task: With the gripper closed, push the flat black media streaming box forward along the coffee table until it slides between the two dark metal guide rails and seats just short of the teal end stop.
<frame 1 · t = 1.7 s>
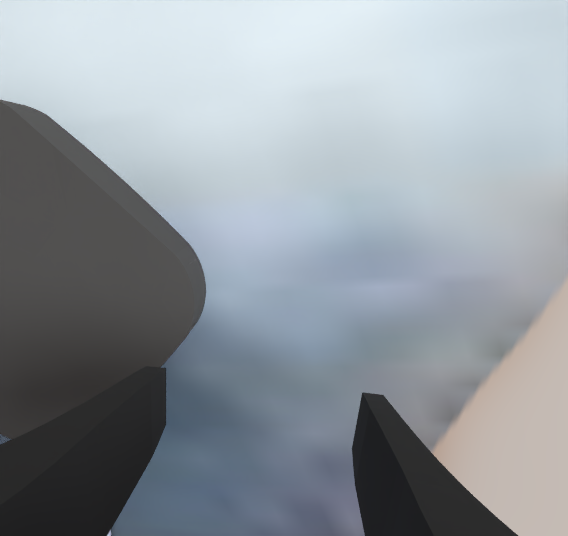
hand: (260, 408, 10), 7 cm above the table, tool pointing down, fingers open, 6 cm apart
media streaming box: (50, 280, 18), on the table
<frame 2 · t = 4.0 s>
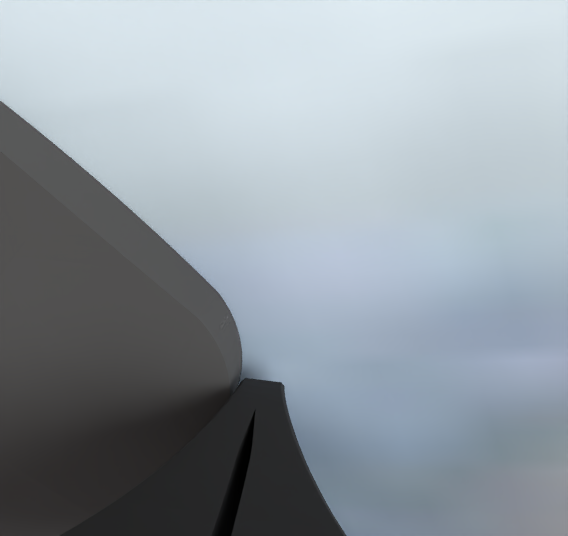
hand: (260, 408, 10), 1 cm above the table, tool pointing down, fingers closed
media streaming box: (9, 341, 12), on the table, touching gripper
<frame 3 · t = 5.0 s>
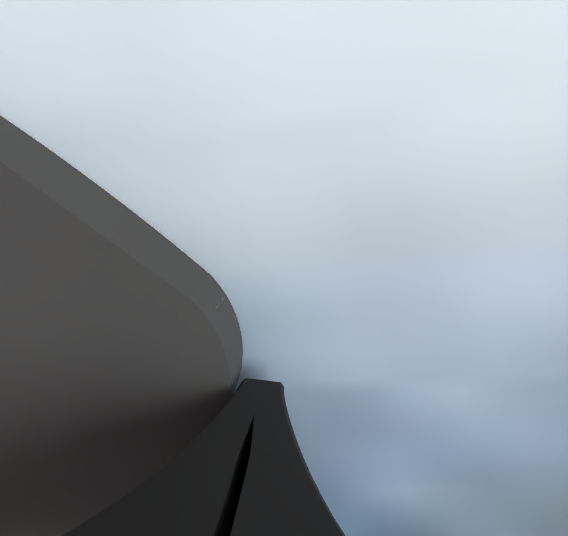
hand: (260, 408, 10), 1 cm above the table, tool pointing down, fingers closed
media streaming box: (10, 346, 12), on the table, touching gripper
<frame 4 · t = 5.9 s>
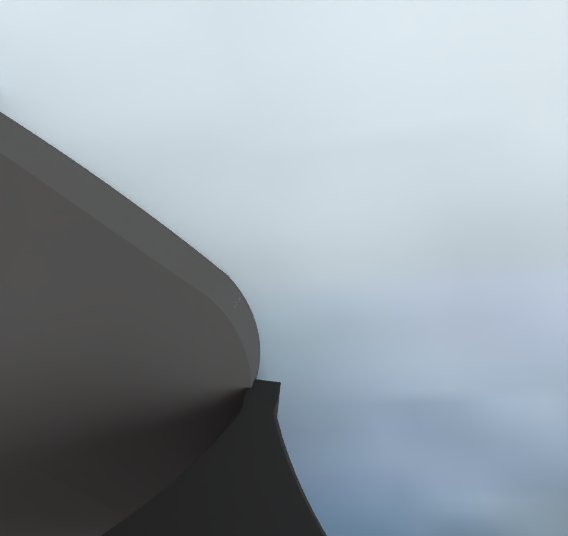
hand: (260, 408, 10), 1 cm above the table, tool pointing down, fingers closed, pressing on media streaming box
media streaming box: (25, 352, 12), on the table, touching gripper, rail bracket
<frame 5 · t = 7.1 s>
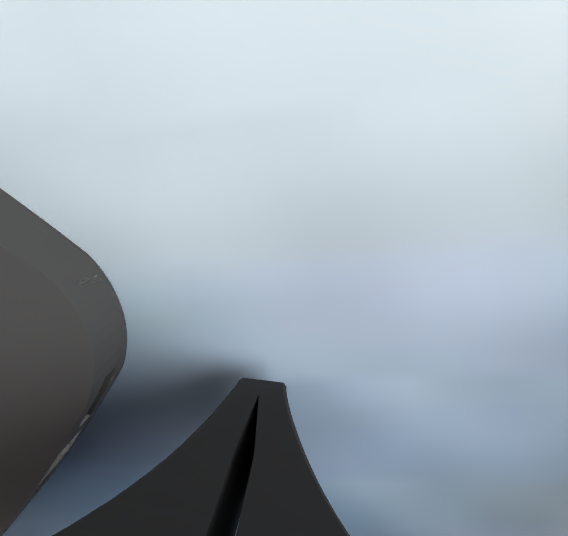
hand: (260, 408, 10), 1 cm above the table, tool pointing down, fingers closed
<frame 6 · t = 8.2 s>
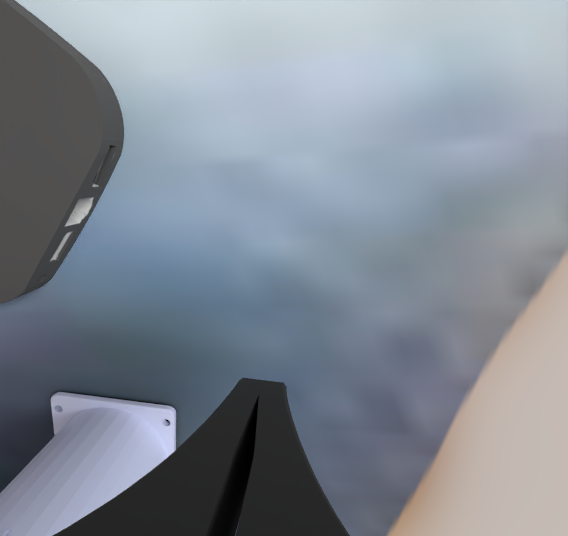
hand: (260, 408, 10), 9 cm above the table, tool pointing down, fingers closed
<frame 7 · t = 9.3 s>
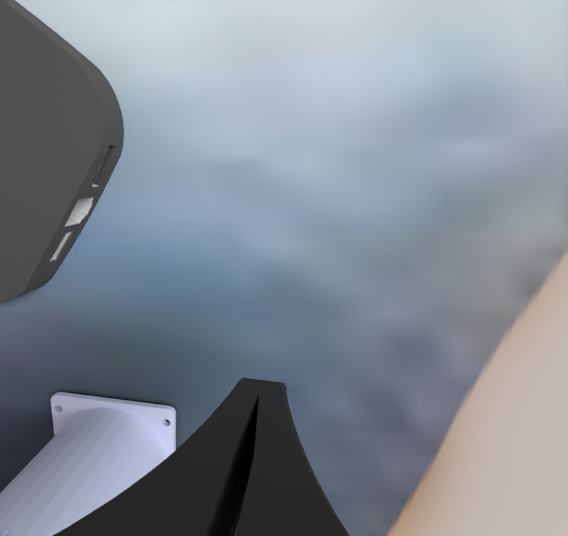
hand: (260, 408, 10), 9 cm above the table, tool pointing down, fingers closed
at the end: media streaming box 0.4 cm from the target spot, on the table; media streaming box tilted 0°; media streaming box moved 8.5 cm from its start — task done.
